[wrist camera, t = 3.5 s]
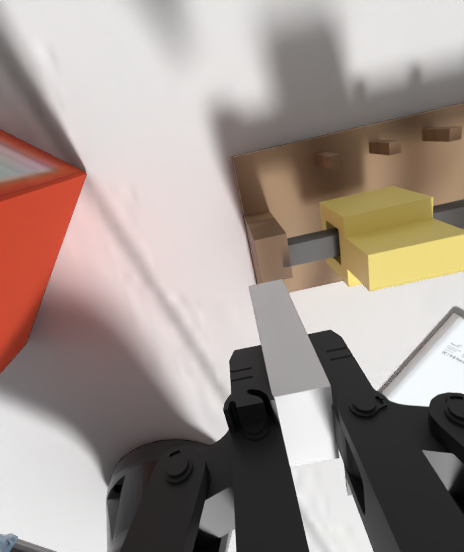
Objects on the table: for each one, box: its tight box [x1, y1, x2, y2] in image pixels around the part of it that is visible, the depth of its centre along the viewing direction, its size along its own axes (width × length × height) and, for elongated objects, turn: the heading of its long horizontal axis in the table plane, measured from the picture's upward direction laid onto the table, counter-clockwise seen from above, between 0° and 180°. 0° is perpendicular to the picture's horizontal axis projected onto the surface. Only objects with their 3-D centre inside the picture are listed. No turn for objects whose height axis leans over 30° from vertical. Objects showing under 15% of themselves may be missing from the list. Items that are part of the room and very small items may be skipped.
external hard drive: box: [381, 313, 464, 407], centre depth 35 cm, size 2×8×12 cm
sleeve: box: [319, 186, 464, 291], centre depth 19 cm, size 5×4×7 cm
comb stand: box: [232, 103, 464, 293], centre depth 23 cm, size 25×12×9 cm, turn 102°
